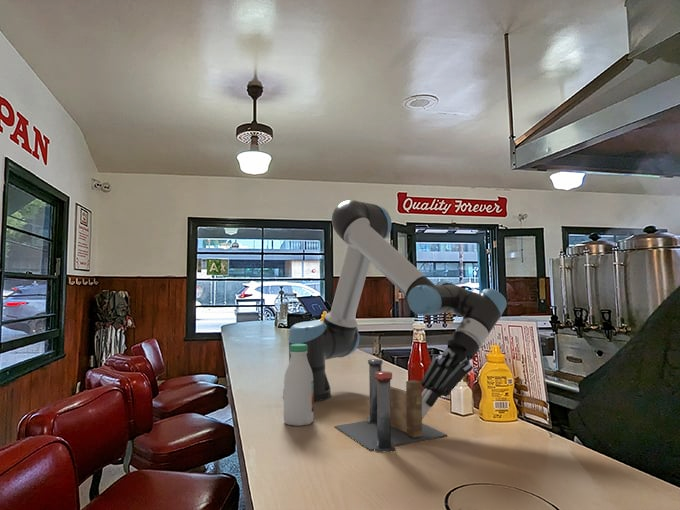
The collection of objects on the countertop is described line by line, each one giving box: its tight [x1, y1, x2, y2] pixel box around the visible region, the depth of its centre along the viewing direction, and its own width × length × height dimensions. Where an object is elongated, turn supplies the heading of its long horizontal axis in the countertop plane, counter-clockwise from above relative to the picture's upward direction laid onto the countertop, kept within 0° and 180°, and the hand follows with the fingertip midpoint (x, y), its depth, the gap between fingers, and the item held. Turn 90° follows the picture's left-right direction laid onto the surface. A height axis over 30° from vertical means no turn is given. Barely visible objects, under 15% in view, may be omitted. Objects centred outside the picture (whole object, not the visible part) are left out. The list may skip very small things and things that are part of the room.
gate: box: [390, 379, 423, 437], centre depth 110 cm, size 14×2×12 cm, turn 32°
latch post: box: [373, 370, 397, 453], centre depth 99 cm, size 4×4×16 cm
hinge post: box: [366, 358, 384, 423], centre depth 118 cm, size 4×4×16 cm
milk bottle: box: [283, 344, 315, 427], centre depth 118 cm, size 8×8×20 cm
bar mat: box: [334, 420, 448, 451], centre depth 110 cm, size 18×21×1 cm
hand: (416, 414), depth 108 cm, fingers closed
